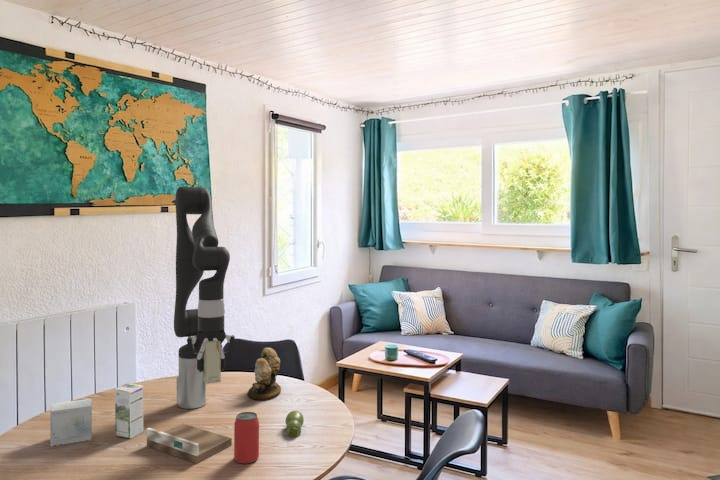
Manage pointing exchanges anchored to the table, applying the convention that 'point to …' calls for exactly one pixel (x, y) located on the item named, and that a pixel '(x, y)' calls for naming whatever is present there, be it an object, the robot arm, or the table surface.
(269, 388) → the brown lumpy upright piece
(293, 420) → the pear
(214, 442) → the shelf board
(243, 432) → the beer can
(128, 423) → the syrup box
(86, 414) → the skincare box
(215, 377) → the skincare box
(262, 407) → the table surface
